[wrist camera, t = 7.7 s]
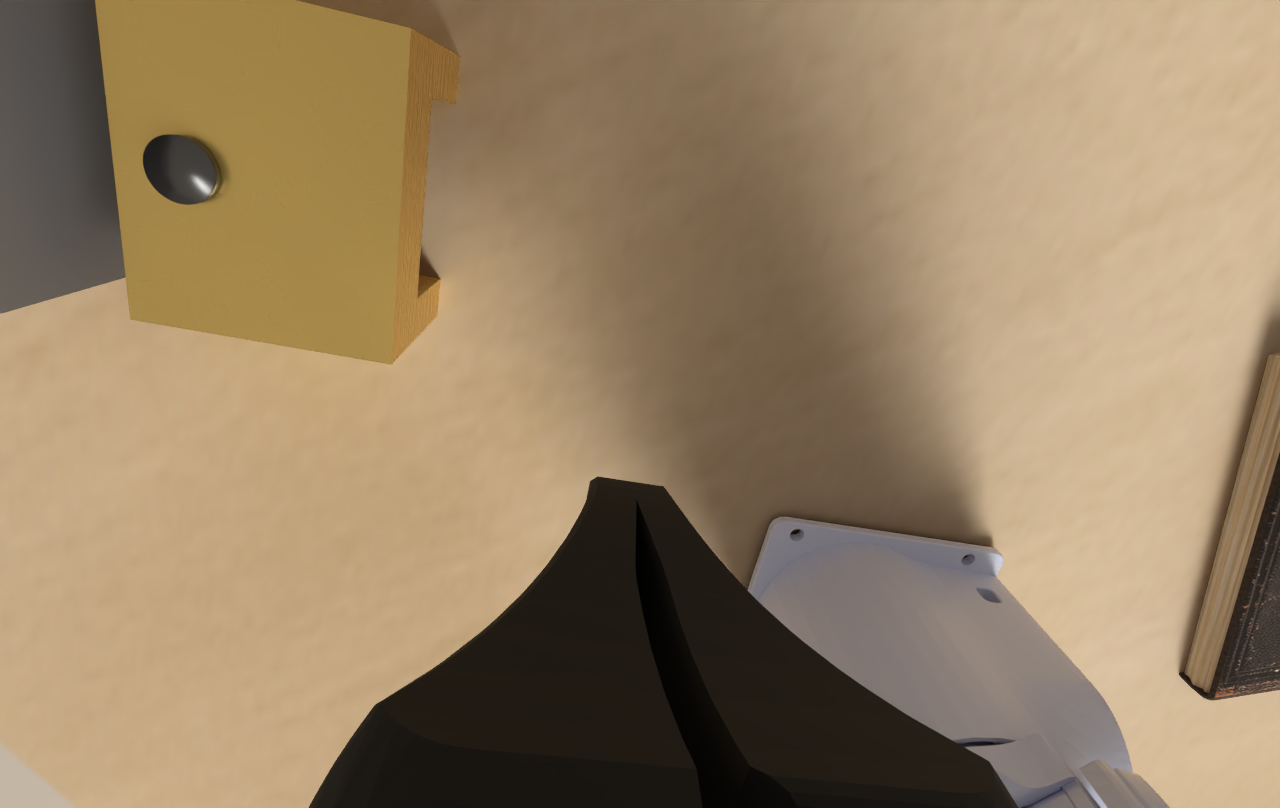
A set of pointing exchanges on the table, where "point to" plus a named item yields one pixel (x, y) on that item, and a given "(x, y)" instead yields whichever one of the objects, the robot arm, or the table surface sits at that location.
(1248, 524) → the hardcover book
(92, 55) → the gray block
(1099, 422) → the table surface
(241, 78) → the wooden knob block
